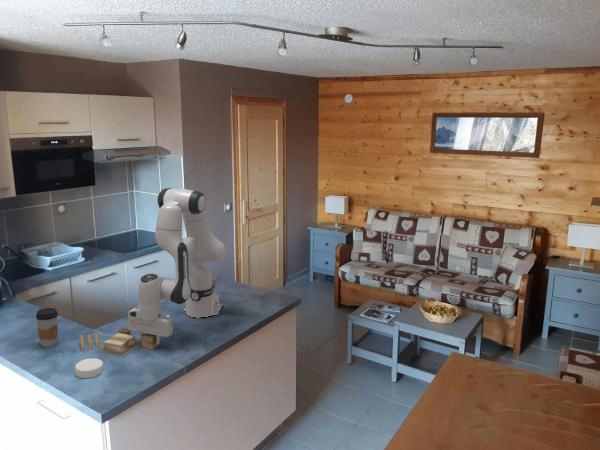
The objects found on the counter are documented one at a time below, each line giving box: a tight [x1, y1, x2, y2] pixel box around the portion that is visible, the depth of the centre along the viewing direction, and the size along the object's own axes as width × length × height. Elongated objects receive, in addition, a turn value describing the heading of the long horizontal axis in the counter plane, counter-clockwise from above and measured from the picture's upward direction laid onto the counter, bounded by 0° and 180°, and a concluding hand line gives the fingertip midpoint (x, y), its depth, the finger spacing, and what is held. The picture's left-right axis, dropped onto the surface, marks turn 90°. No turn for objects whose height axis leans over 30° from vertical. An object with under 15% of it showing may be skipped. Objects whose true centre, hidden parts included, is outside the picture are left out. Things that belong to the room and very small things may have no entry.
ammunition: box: [79, 332, 101, 352], centre depth 207 cm, size 5×7×8 cm
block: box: [117, 327, 132, 335], centre depth 215 cm, size 4×4×4 cm
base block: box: [103, 333, 135, 355], centre depth 206 cm, size 10×8×4 cm
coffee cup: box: [35, 307, 59, 348], centre depth 207 cm, size 8×8×15 cm
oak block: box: [141, 333, 160, 351], centre depth 209 cm, size 5×5×6 cm
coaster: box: [74, 357, 104, 379], centre depth 188 cm, size 10×10×4 cm
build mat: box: [94, 337, 142, 359], centre depth 209 cm, size 18×14×1 cm
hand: (150, 342), depth 209 cm, fingers closed on oak block, 5 cm apart
